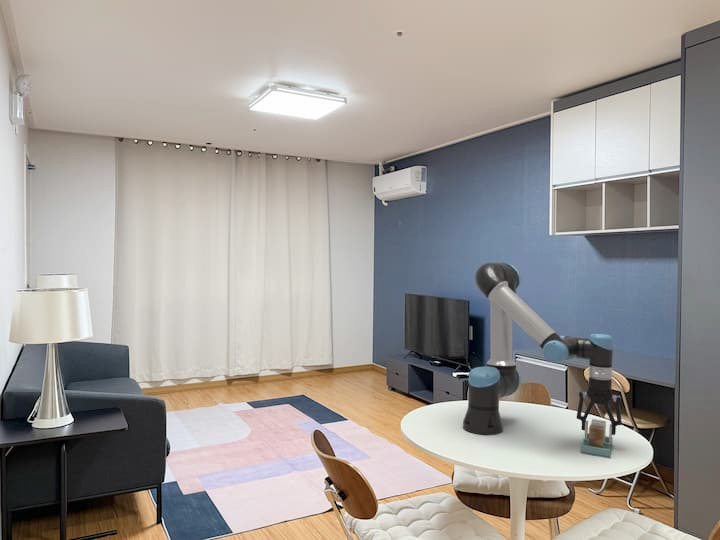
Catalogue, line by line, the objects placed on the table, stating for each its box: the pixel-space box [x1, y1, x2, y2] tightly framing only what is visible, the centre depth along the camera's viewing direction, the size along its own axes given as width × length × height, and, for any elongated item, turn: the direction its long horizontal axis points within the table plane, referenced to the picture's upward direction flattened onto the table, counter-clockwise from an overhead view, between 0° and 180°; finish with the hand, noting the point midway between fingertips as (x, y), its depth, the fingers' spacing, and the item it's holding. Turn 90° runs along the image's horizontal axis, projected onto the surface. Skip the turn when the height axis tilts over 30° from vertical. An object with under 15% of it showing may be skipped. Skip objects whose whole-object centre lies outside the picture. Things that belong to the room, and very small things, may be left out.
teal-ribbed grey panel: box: [580, 433, 614, 459], centre depth 193 cm, size 9×16×3 cm, turn 152°
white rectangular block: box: [590, 418, 607, 442], centre depth 196 cm, size 4×4×8 cm
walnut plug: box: [588, 424, 604, 448], centre depth 189 cm, size 4×4×8 cm
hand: (598, 441), depth 196 cm, fingers open, 7 cm apart
